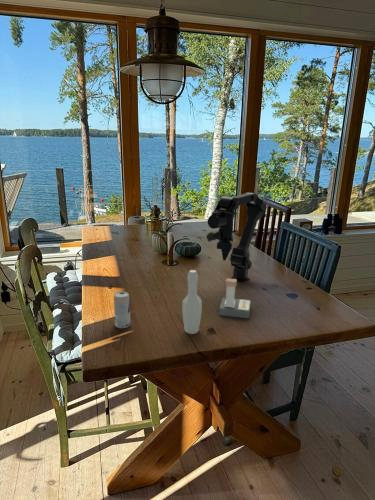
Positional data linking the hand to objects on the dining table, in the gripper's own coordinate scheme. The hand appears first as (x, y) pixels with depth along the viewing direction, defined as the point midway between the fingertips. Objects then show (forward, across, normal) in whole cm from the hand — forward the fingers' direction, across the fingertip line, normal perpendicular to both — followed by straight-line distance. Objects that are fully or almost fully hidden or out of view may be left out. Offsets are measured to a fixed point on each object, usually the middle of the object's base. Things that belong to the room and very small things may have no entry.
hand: (224, 260), depth 160 cm
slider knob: (+10, +25, +4) cm, 28 cm away
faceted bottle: (+15, +41, -8) cm, 44 cm away
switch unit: (+14, +23, +7) cm, 27 cm away
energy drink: (+15, +42, -32) cm, 55 cm away
